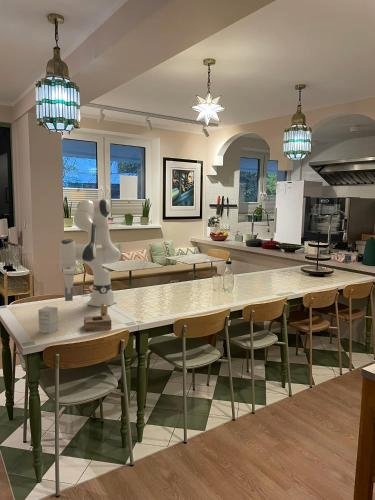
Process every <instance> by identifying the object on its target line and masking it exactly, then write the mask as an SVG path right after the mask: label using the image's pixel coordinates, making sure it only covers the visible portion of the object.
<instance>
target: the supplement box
mask: <svg viewBox="0 0 375 500" xmlns="http://www.w3.org/2000/svg"><path fill="white" fill-rule="evenodd" d="M58 311H59V309H58V307H55V306H48V305H47V306H44V307H42V308H39V309H38V311H37V312H38V313H37V314H38V332H39V333H44V334H52V333H54V332H55V331H58V330H59V315H58V313H59V312H58Z"/></svg>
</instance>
